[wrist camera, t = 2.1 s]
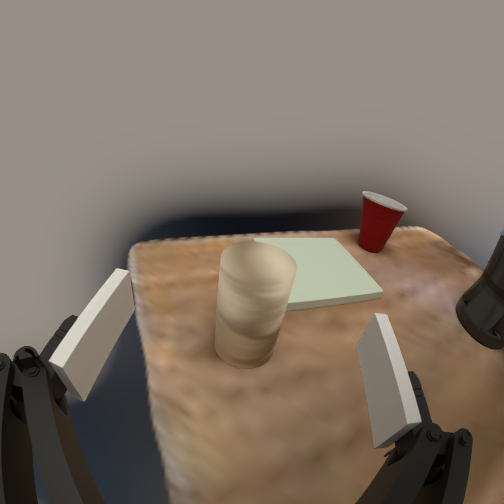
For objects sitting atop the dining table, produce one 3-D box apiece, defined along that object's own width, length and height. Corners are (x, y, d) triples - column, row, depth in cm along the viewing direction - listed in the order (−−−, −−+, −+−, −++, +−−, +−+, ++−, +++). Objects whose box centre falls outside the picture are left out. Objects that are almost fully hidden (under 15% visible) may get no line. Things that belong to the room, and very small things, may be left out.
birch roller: (263, 321, 35) (282, 241, 29) (280, 363, 29) (309, 281, 23) (210, 326, 33) (215, 241, 27) (220, 372, 27) (228, 286, 21)
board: (332, 244, 57) (334, 238, 56) (380, 298, 42) (383, 291, 41) (251, 244, 52) (252, 237, 51) (284, 311, 37) (287, 303, 36)
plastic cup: (392, 246, 61) (408, 202, 55) (387, 264, 53) (407, 213, 46) (353, 230, 65) (366, 185, 59) (342, 245, 57) (358, 194, 51)
